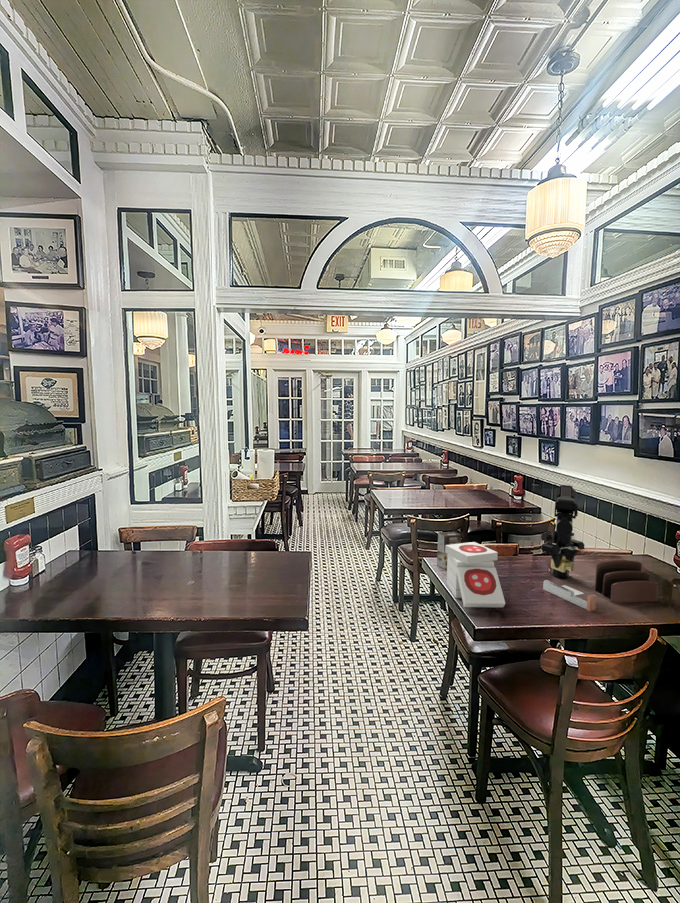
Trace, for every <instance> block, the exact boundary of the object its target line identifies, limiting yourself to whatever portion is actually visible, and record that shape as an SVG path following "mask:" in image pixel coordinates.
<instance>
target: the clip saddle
mask: <svg viewBox="0 0 680 903" xmlns="http://www.w3.org/2000/svg"><path fill="white" fill-rule="evenodd" d="M550 560H551V561H550V568H551V569H552V570H553V569H555V570H558V571H561V572H563V573H564V572H566V569H567V570H569V572H573V571H574V565H575V564H574V562H575V561H574V562H572V561H569V560H567V559H566V556H565V555H563V556H562V559H561V562H560V565H559V567H558V568H556V567H555V565H554V561H553V559H552V558H551V559H550ZM573 564H574V565H573Z"/></svg>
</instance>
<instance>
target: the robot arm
mask: <svg viewBox="0 0 680 903" xmlns="http://www.w3.org/2000/svg"><path fill="white" fill-rule="evenodd" d="M554 495H555V496H554V498H555V502H554V516H553V517H555V518H556V525H555V528H556V529H555V530H553V531H552V533H551V534H549V533H548V532H541V533H540V534H541V535H540V540H541V541H542V542H544V543H542V544H541V548H540V550H541V551H542V552H546V553H549V554H550V556H551V559H553V561H554V565H555V567H556V568H558V567H559V565H560V562H561V559H562V556H563V555H565V556H566V559H567V560H569V561H572V562H575V557H576V556H577V554H578V553H579V552H580V551H581V550H585V544H584V542H583V541H580V540H576V539H573V538H572V537H573V536H575V533H574V532H573V522H574V520H577V519H576V518H577V517H578V512H579V511H578V510H579V508H578V507H579V506H578V504H577V490H575V489H574V488H573V486H572V485H571V484H569V485H567V484H561V485H559V487H558V488H556V489H555V494H554ZM574 565H575V564H573V566H574ZM569 574H570V571H569V570H567V569H566V572H564V573H563V572H561V571H558V570H555V569H553V568H552V573H550V576H552V577H554V578H556V579H557V578H558V579H560V580H566V579H571V578H573V577H572V576H571V575H569Z"/></svg>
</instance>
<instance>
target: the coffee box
mask: <svg viewBox="0 0 680 903" xmlns="http://www.w3.org/2000/svg"><path fill="white" fill-rule="evenodd" d="M460 543H462V534H460V533H457V532H455V531H445V532H437V553H436V565H437V566H438V567H440V568H442V569H445V570H447V558H448V554H447V553H445V545H451V544H460Z"/></svg>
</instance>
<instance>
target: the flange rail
mask: <svg viewBox="0 0 680 903" xmlns="http://www.w3.org/2000/svg"><path fill="white" fill-rule="evenodd" d="M542 584H543V585H542V586H543V587H542V590H544V591H546V592H548V593H551V594H552V595H555V596H557V597H559V598H561V599H563V600H565V601H568V602H570V603H572V604H574V605H576V606H578V607H581V608H583V609H584V610H586V611H587V612H593V611H596V608H597V595H596V594H595V593H594V594H589V595H587V600H585V599H583V598H581V597H578V596H577V595H575V596H574V592H573V591H571V590H569V589H567V588H564V587H562V586H563V585H559V584H557V583H555V582H553V581H550V580H548V579H545V580H543V583H542Z"/></svg>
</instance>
